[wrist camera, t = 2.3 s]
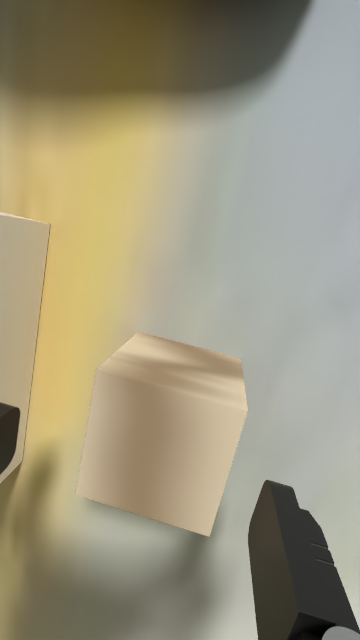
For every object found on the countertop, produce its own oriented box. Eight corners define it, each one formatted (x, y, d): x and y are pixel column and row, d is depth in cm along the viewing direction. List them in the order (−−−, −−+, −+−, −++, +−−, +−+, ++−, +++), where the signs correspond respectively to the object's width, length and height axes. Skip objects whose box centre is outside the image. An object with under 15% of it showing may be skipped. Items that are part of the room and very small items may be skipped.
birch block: (240, 357, 14) (248, 410, 10) (214, 449, 16) (209, 536, 11) (138, 331, 15) (96, 369, 10) (120, 422, 16) (75, 494, 11)
